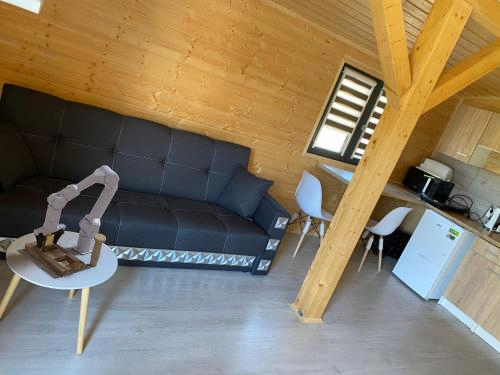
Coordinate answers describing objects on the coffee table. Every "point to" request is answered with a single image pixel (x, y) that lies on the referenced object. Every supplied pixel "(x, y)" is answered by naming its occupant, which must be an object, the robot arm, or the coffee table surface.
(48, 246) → the peg
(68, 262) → the mount block
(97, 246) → the handle
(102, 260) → the coffee table surface
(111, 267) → the coffee table surface
